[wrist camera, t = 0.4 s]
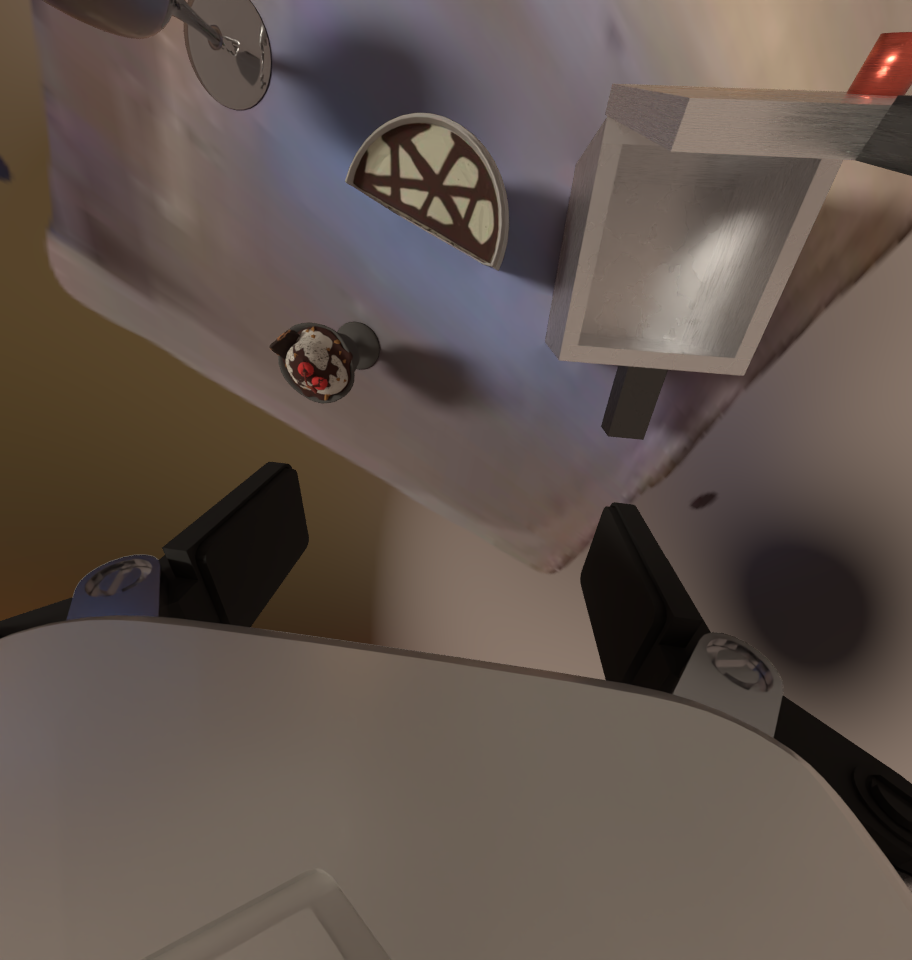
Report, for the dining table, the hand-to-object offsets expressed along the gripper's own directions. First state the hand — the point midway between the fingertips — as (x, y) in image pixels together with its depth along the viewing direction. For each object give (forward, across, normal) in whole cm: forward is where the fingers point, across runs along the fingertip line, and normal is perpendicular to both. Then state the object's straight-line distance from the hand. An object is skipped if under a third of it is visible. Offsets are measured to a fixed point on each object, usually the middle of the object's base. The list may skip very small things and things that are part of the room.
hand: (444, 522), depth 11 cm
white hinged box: (+31, -13, -5) cm, 34 cm away
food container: (+31, +4, -12) cm, 34 cm away
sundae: (+31, +14, +1) cm, 34 cm away
